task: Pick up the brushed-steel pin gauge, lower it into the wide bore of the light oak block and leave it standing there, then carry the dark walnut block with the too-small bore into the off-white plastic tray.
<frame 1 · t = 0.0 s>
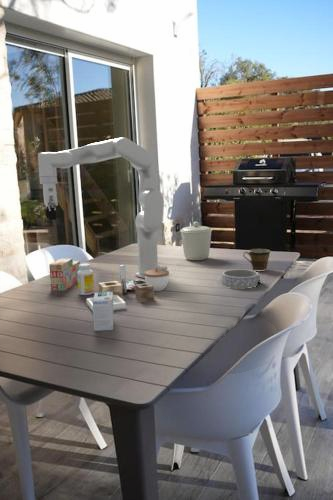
hand: (51, 218, 229), 31 cm above the table, tool pointing down, fingers open, 9 cm apart
dog bowl: (240, 285, 228), on the table
lidded jar: (157, 289, 223), on the table
oak block: (110, 297, 212), on the table
steel pin: (123, 292, 219), on the table
light bulb box: (104, 326, 177), on the table
tray: (106, 306, 199), on the table
walnut block: (144, 299, 208), on the table
ceramic cup: (256, 270, 253), on the table
supplement bottle: (86, 294, 220), on the table
stack of blocks: (66, 285, 237), on the table
canister: (196, 259, 286), on the table
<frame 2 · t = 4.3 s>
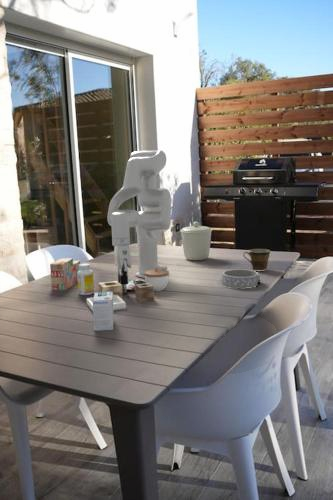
hand: (123, 283, 218), 4 cm above the table, tool pointing down, fingers closed on steel pin, 2 cm apart
steel pin: (123, 292, 219), on the table, touching gripper
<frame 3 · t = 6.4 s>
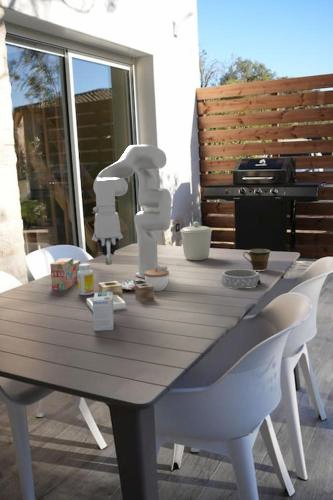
hand: (108, 254, 209), 18 cm above the table, tool pointing down, fingers closed on steel pin, 2 cm apart
steel pin: (108, 264, 210), point 14 cm above the table, touching gripper
when the fingers open (7 cm above the table, at t = 8.6 s): steel pin drops 2 cm, resting on oak block.
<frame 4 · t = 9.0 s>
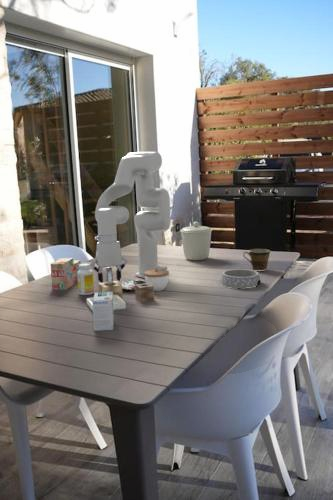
hand: (109, 280, 211), 7 cm above the table, tool pointing down, fingers open, 6 cm apart
oak block: (110, 298, 212), on the table, touching steel pin
steel pin: (110, 295, 212), point 1 cm above the table, touching oak block
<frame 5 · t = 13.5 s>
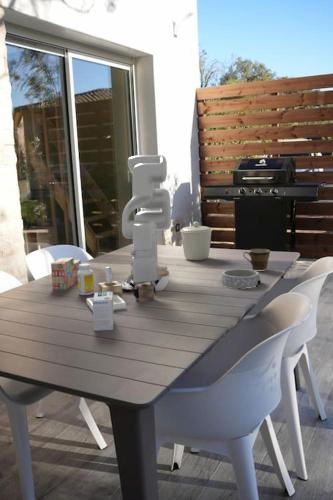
hand: (144, 296, 208), 1 cm above the table, tool pointing down, fingers closed on walnut block, 6 cm apart
walnut block: (144, 299, 208), on the table, touching gripper
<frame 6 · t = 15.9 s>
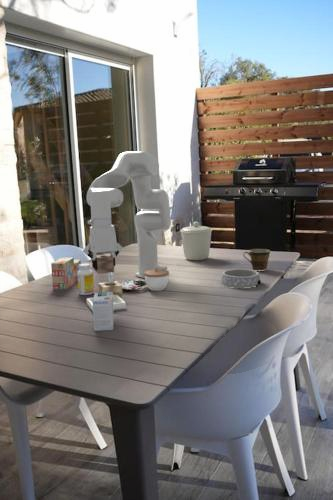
hand: (104, 268, 197), 15 cm above the table, tool pointing down, fingers closed on walnut block, 6 cm apart
walnut block: (104, 271, 197), point 14 cm above the table, touching gripper
when the fingers open (3 cm above the table, at t = 18.5 s): walnut block drops 2 cm, resting on tray.
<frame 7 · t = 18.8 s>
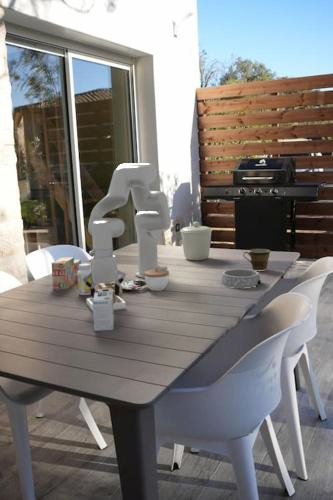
hand: (105, 296, 199), 4 cm above the table, tool pointing down, fingers open, 8 cm apart
walnut block: (106, 305, 199), resting on tray
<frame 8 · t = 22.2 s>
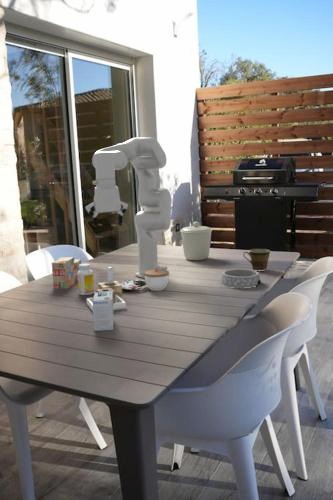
hand: (108, 226, 205), 30 cm above the table, tool pointing down, fingers open, 9 cm apart
at the end: walnut block inside the target area on the tray (0.1 cm from its centre), point 0.5 cm above the tray's base; steel pin 0.1 cm off-centre on the oak block, point 1.1 cm above the oak block's base; the gripper is holding nothing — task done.
